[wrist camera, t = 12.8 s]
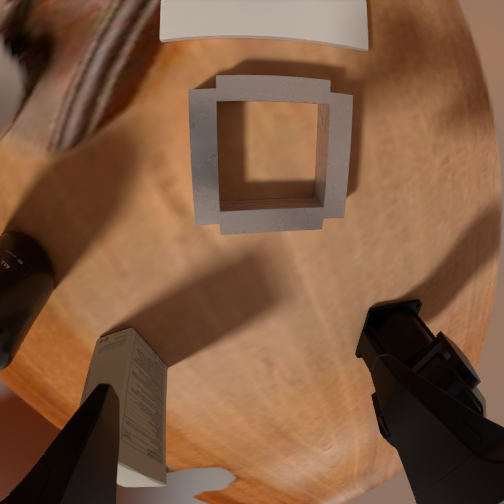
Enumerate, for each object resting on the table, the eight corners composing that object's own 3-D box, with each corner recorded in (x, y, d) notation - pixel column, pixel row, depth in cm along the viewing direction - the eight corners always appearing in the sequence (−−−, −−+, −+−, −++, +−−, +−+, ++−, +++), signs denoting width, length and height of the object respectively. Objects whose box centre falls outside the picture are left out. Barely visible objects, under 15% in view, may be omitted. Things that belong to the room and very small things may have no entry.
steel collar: (339, 84, 17) (353, 83, 15) (331, 217, 21) (342, 228, 19) (190, 80, 15) (188, 76, 14) (197, 224, 20) (196, 236, 18)
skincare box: (96, 337, 23) (63, 457, 12) (133, 324, 23) (108, 456, 12) (135, 379, 26) (123, 489, 16) (171, 370, 26) (168, 488, 15)
